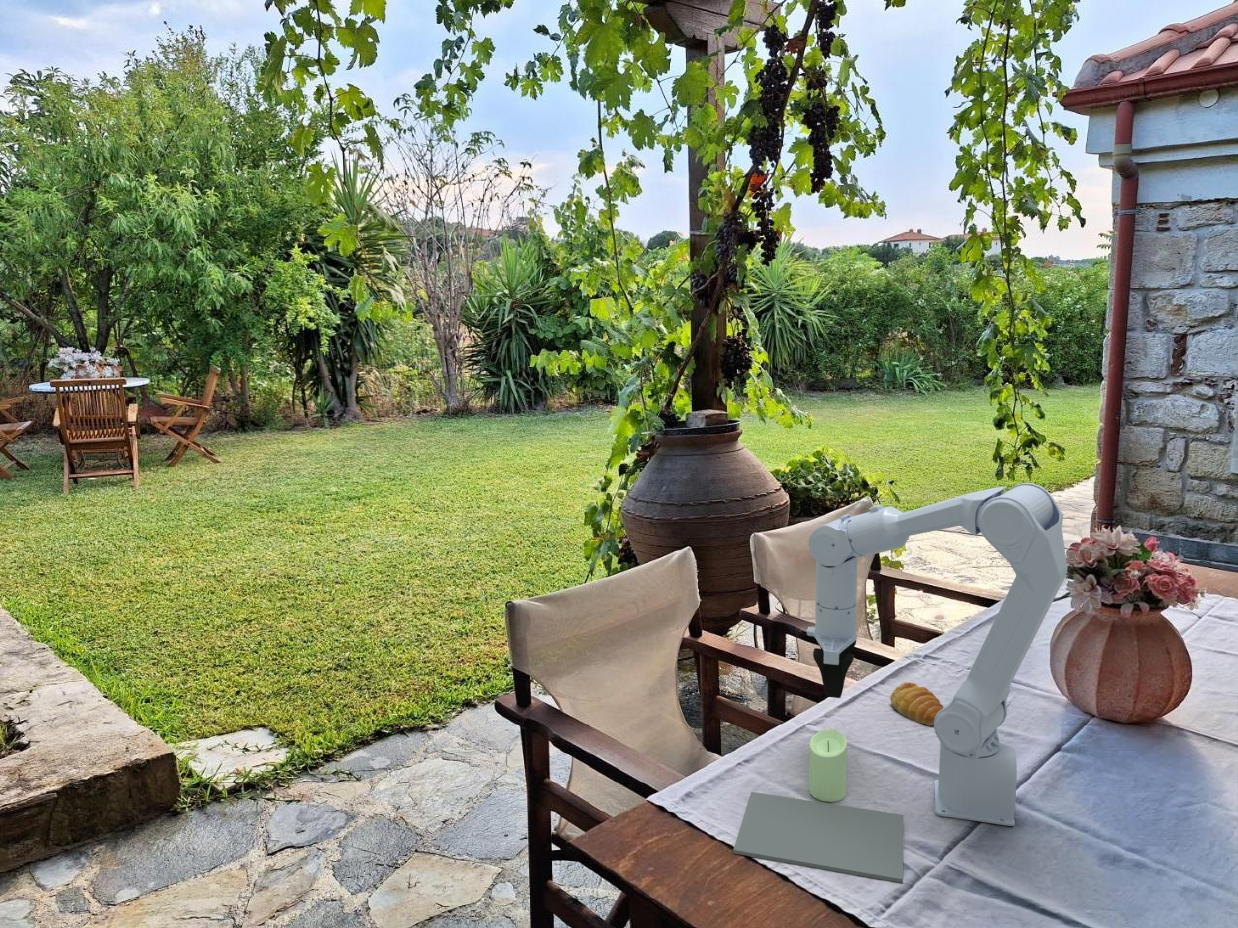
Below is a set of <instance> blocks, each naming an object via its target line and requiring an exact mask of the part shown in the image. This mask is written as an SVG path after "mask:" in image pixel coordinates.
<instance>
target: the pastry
mask: <svg viewBox="0 0 1238 928" xmlns="http://www.w3.org/2000/svg"><path fill="white" fill-rule="evenodd" d="M890 703H891V704H892V706H893V708H894V710H897V712H898V713H899V714H900V715H902V716H904V717H906V718H908V719H910V720H912V721H914V722H916V723H919V724H923V725H927V726H934V719H935V716H936V714H937V713H938V712H939V711H940V710H941V709H943V708H944V706H943V704H942V703H941V702H940V699H939V698H937V696H935V694H934V693H933V692H932V691H929V689H928V688H927V687H925V686H918V685H917V684H916V683H914V682H902V683H901V684H900V685H899V686H897V687H896V688H895V689H894V690H893V691H892V693H891V695H890Z"/></svg>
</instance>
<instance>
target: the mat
mask: <svg viewBox="0 0 1238 928" xmlns="http://www.w3.org/2000/svg"><path fill="white" fill-rule="evenodd" d="M904 816H905V815H904V814H901V813H895V812H887V811H881V810H874V809H868V808H861V807H856V806H855V807H854V806H848V805H842V804H835V803H830V802H824V801H823V802H822V801H815V800H808V799H802V798H794V797H788V796H782V795H776V794H775V795H774V794H770V793H763V792H755V791H751V792H750V795H749V798H748V801H747V804H746V807H745V811H744V813H743V816H742V817H743V818H742V821H741V824H740V827H739V831H738V834H737V837H736V841H735V843H734V847H733V855H734V854H735V855H739V856H740V855H741V856H747V857H751V858H752V857H753V858H758V859H763V860H770V861H773V862H782V863H787V864H792V865H798V866H804V867H809V868H813V869H814V868H816V869H821V870H826V871H832V872H839V873H843V874H844V873H845V874H849V875H854V876H860V877H868V878H873V879H878V880H884V881H888V882H895V883H900V884H901V883H902V884H903V883H904V818H905V817H904Z"/></svg>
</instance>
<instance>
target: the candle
mask: <svg viewBox="0 0 1238 928" xmlns="http://www.w3.org/2000/svg"><path fill="white" fill-rule="evenodd" d="M847 754H848V740H847V737H846V736H845V735H844V733H842V732H840V731H838V730H836V729H832V728H831V729H829V728H828V729H821V730H820V731H816V733H814V734H813V735H812V737H811V738H810V740H809V762H808V764H809V765H808V766H809V774H808V778H809V779H808V791H809V793H810V794H811V796H813V798H815V799H817V800H819V801H821V802H822V801H823V802H825V803H833V802H834V803H835V802H839V801H841V800H843V799H844V798H845V797H846V795H847V774H848V773H847V768H848V767H847V765H848V761H847V759H848V758H847V757H848V755H847Z"/></svg>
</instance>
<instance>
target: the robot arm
mask: <svg viewBox="0 0 1238 928" xmlns="http://www.w3.org/2000/svg"><path fill="white" fill-rule="evenodd" d="M1007 487H1008V486H999V487H992V488H988V489H987V488H986V489H982V490H978V491H973V492H968V493H965V494H962V495H958V496H956V497H952V498H949V499H946V500H942V501H938V502H935V503H931V504H928V505H925V506H921V507H918V508H916V509H912V510H908V511H905V512H903V511H901V510H899V509H898V508H896V507H894V506H886V507H883V504H877V505H873V506H871V507H869V511H868V512H865V513H860V514H857V515H852V516H851V514H850V513H847V514H844V515H842V516H840V517H839V518H837V519H834V520H833V521H830V522H828V523H826V524H823V525H821V526H819V527H818V528H815V530H813V531H812V532H811V534H810V536H809V538H808V549H809V553H810V555H811V556H812V557H813V559H814V560H815V608H814V609H815V613H814V614H815V615H814V616H815V621H814V623H815V624H814V626H808V627H807V629H806V635H807V636H808V637H814V638H815V639H816V642H817V644H818V645H819V647H820V648H817V647H816V648H815V647H814V649H813V652H812V656H813V660H814V661H815V663H816V665H817V667H818V669H819V672H820V676H821V681H822V687H823V691H824V694H825V697H827V698H835V699H841V697H842V694H843V691H844V686H845V681H846V675H847V673H848V671H849V669H850V667H851V665H852V663H853V662H854V659H855V654H854V653H853V654H852V651H853V650H854V648H855V646H856V644H857V639H858V631H857V594H858V593H857V590H858V586H857V585H858V583H857V582H858V581H857V580H858V579H857V578H858V559H859V558H864V557H867V556H871V555H875V554H880V553H885V552H888V551H893V550H897V549H901V548H903V547H904V546H905V545H906V543H907V542H908V539H909V538H910V537H911V536H914V535H915V536H916V535H921V534H925V533H926V534H927V533H930V532H935V531H941V530H944V529H951V528H955V527H956V528H957V527H962V528H963V529H965V530H966V531H967V532H968V533H970V534H971V535H973V536H978V535H979V534H981V535H982V536H983V538H984V539H986V541H987V542H988V543H989V544H990V545H991V547H993V548H994V549H995V550H996V551H997V552H998V553H999V554H1000V555H1001V556H1002V557H1003V558H1004V559H1005V560H1006V561H1007V562H1008V563H1009V564H1010V566H1011V568H1012V571H1013V572H1014V573H1015V578H1014V580H1013V582H1012V583H1011V586H1010V589H1009V590H1008V592H1007V594H1006V596H1005V599H1004V601H1003V603H1002V604H1001V607H1000V608H999V611H998V613H997V615H996V617H995V619H994V621H993V624H992V626H991V628H990V630H989V631H988V634H987V636H986V638H985V640H984V642H983V644H982V645H981V649H980V651H979V653H978V654H977V656H976V659H975V660H974V663H973V665H972V667H971V669H970V671H969V673H968V675H967V677H966V678H965V680H964V681H963V682H962V684H961V685H960V686H959V688H958V690H957V691H956V693H955V695H954V696H953V698H952V700H951V701H950V702H949V704H947V705H946V706H944V707H943V709H941V710H940V711H939V712H938V713H937V714H936V716H935V719H934V725H933V728H934V729H933V730H934V734H935V735H936V737H937V738H938V740H939V745H940V746H939V765H938V767H939V768H938V779H935V780H934V782H933V789H934V807H935V811H934V812H935V814H936V815H938V816H942V817H948V818H954V819H962V820H969V821H974V822H981V823H988V824H995V825H1002V826H1009V827H1014V826H1015V814H1016V813H1015V812H1016V811H1015V810H1016V801H1017V777H1018V776H1017V775H1018V773H1017V772H1018V770H1017V767H1018V765H1017V764H1018V763H1017V753H1016V748H1015V747H1014V746H1012V745H1007V744H1004V743H1001V742H1000V739H999V735H998V728H999V727H1000V726H1001V725H1002V724H1003V723H1004V722H1005V720H1006V719H1007V715H1008V708H1007V700H1008V697H1009V695H1010V693H1011V688H1010V686H1011V685H1012V682H1013V680H1014V678H1015V677H1016V674H1017V673H1018V671H1019V669H1020V667H1021V665H1022V662H1023V660H1024V659H1025V657H1026V655H1027V653H1028V651H1029V649H1030V647H1031V645H1032V643H1033V641H1034V639H1035V637H1036V635H1037V633H1038V632H1039V630H1040V628H1041V625H1042V623H1044V619H1045V618H1046V616H1047V614H1048V612H1049V610H1050V608H1051V606H1052V604H1053V602H1054V600H1055V598H1056V596H1057V594H1058V592H1059V590H1060V589H1061V586H1062V585H1063V582H1064V581H1065V579H1066V576H1067V573H1068V562H1067V556H1066V549H1065V544H1064V543H1065V542H1064V536H1063V534H1064V533H1063V521H1064V520H1063V519H1064V513H1063V511H1062V510H1061V509H1060V506H1059V505H1058V504H1057V502H1056V500H1055V499H1054V498H1053V495H1051V493H1050V492H1049V491H1048V490H1047V489H1046V488H1045V487H1042V485H1039V484H1037V483H1033V482H1031V483H1030V482H1023V483H1017V484H1015V485H1014V486H1012V487H1011V488H1009V489H1008V490H1007V491H1006V492H1004V491H1005V490H1006V489H1007ZM1003 492H1004V493H1003Z"/></svg>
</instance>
